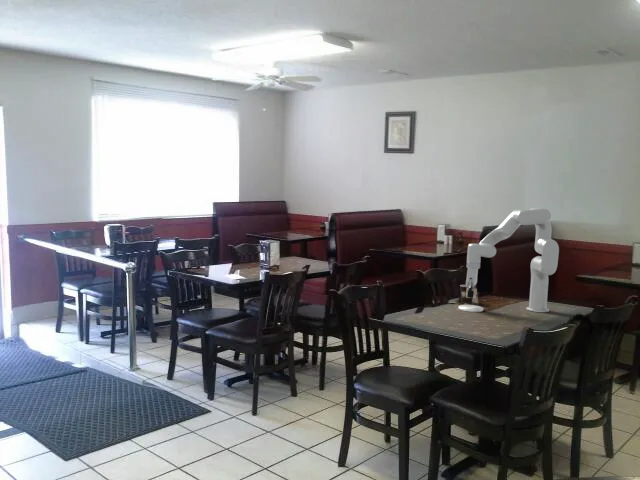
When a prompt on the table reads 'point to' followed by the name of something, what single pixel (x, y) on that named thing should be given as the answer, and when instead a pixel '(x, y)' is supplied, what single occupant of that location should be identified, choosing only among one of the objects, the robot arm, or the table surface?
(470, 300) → the coffee mug
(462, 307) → the ceramic dish
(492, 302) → the table surface
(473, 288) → the maple block
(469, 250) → the robot arm
